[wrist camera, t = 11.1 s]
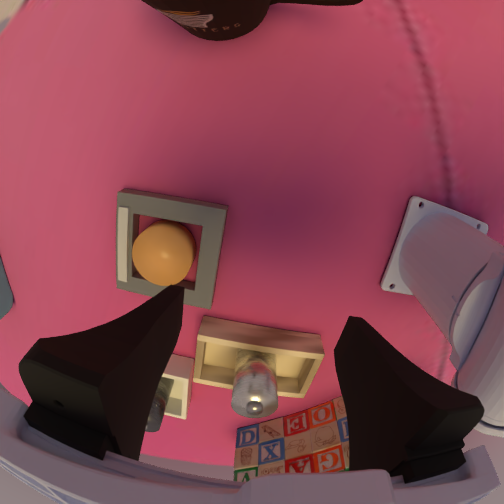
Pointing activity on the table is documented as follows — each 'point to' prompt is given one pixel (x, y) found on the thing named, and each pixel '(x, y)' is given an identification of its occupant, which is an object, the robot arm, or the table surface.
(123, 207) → the grey square frame
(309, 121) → the table surface
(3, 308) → the data package
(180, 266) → the button
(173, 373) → the white square tray
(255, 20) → the coffee mug
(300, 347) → the trough
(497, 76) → the table surface
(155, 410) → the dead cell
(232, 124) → the table surface
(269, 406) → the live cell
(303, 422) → the stack of blocks
